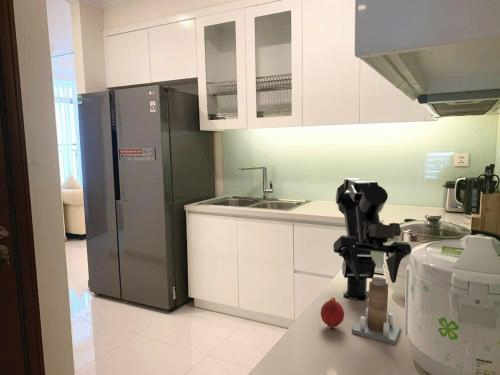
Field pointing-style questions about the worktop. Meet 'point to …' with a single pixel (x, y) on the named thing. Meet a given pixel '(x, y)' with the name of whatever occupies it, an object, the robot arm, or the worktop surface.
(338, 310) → the pomegranate
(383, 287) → the pepper mill
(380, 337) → the pin tray
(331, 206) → the worktop surface
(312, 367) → the worktop surface
